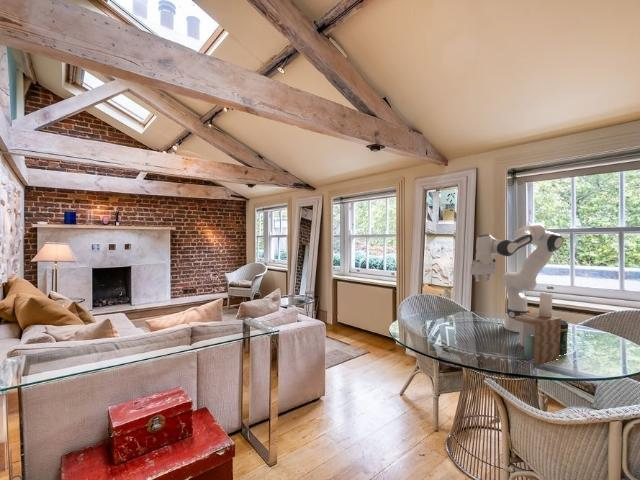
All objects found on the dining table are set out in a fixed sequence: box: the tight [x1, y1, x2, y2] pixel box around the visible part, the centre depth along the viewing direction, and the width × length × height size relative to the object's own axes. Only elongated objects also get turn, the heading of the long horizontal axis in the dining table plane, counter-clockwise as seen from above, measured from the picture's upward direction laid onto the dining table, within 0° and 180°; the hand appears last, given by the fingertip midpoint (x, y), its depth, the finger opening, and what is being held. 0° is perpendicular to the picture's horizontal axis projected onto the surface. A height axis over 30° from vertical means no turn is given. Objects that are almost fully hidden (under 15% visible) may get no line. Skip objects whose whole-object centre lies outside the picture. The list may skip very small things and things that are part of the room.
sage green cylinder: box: [523, 334, 535, 360], centre depth 168 cm, size 5×5×12 cm
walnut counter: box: [514, 312, 562, 366], centre depth 167 cm, size 20×12×22 cm, turn 117°
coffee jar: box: [559, 319, 569, 356], centre depth 175 cm, size 10×8×19 cm
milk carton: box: [518, 313, 535, 348], centre depth 186 cm, size 7×7×19 cm
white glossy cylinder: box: [538, 292, 554, 318], centre depth 169 cm, size 5×5×12 cm
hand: (482, 281), depth 202 cm, fingers open, 8 cm apart
